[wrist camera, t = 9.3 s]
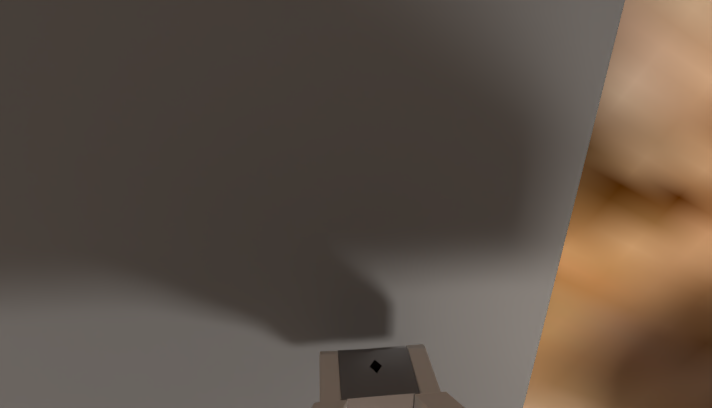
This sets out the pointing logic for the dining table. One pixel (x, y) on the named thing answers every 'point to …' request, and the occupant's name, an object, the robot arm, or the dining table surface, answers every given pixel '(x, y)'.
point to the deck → (284, 192)
